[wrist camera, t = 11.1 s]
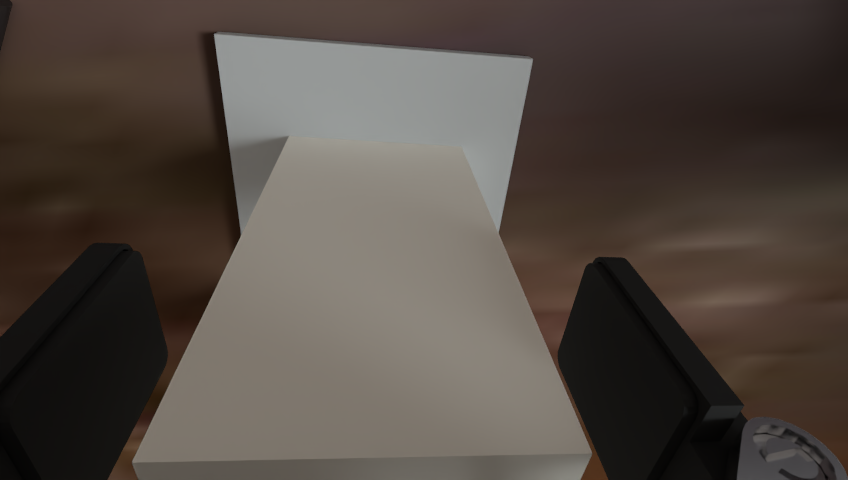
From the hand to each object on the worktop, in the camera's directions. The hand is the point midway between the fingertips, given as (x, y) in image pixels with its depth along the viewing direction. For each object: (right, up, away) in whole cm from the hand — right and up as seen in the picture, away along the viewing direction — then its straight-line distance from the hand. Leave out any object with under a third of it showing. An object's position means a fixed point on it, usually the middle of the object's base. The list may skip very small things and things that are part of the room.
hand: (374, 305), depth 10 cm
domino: (-1, +4, +7) cm, 8 cm away
